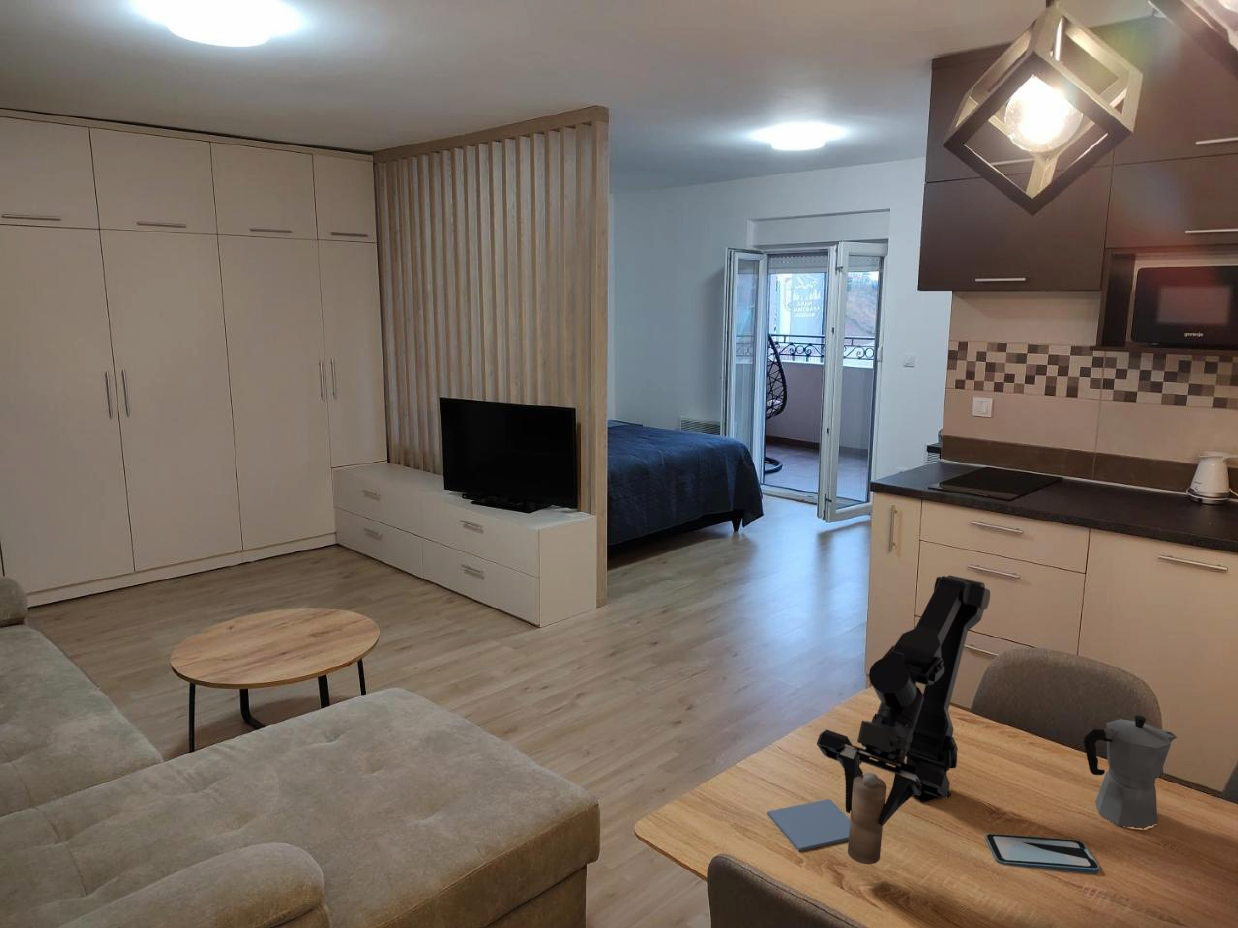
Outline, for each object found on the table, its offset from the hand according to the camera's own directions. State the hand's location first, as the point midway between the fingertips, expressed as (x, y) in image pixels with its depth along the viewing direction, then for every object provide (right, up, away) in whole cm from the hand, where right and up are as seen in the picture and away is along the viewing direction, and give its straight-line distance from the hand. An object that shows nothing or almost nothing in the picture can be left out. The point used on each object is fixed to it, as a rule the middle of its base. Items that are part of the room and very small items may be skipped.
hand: (863, 818), depth 123 cm
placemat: (-4, -7, +15) cm, 17 cm away
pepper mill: (+1, -6, +2) cm, 7 cm away
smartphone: (+30, -10, +9) cm, 33 cm away
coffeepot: (+49, -8, +20) cm, 53 cm away
